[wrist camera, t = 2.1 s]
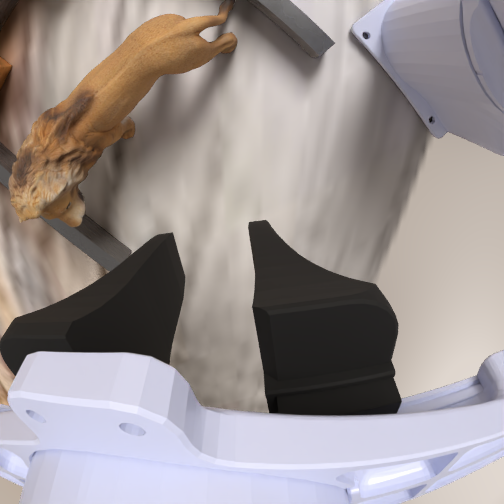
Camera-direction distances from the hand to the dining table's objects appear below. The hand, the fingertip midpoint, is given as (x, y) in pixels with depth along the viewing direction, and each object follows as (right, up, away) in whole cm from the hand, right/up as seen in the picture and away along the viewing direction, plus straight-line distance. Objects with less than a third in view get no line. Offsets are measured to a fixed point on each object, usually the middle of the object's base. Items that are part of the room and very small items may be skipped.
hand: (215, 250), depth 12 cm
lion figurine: (-5, +10, +5) cm, 12 cm away
